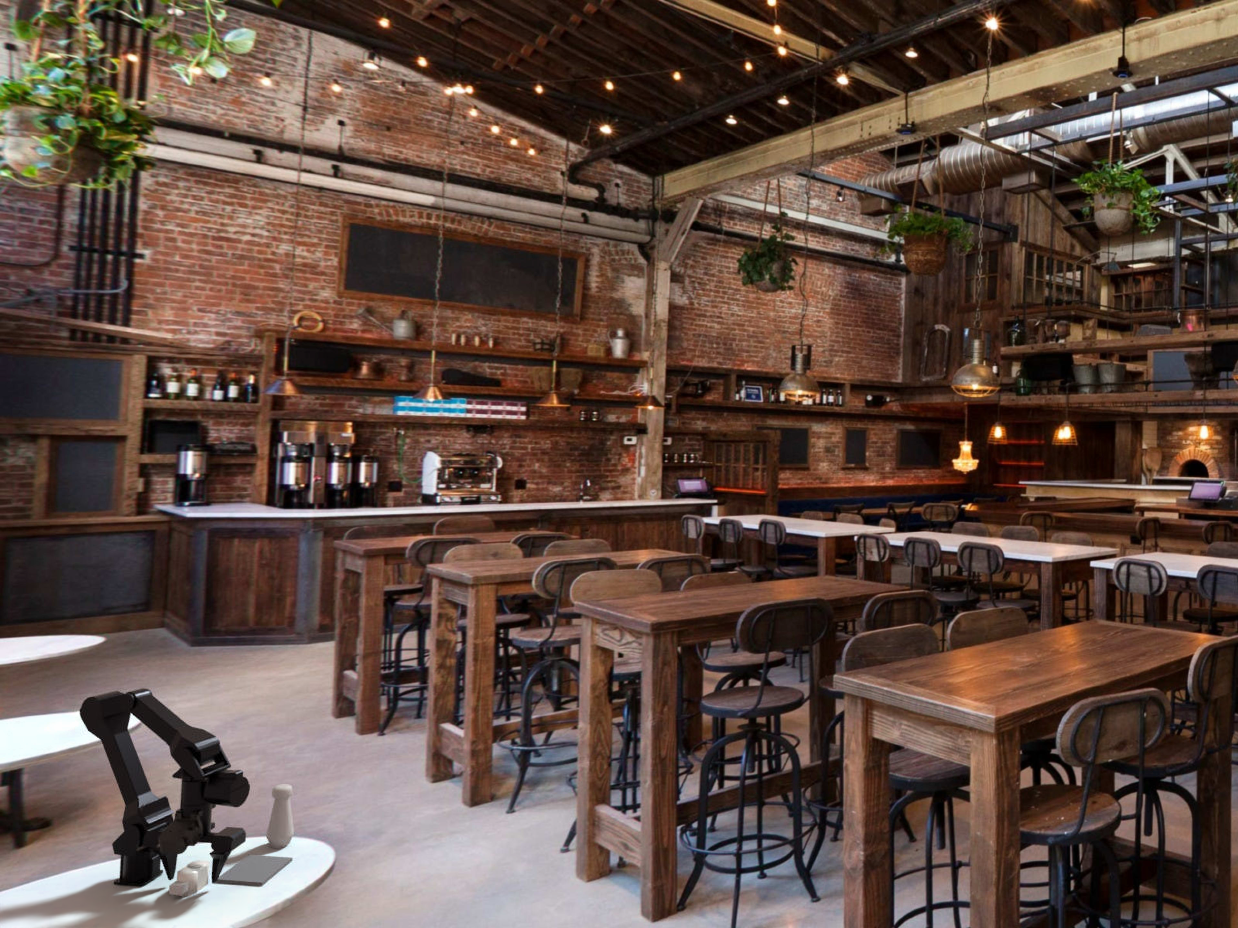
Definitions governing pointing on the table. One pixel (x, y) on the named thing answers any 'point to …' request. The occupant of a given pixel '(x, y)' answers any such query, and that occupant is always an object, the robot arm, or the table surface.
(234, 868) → the coaster
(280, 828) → the salt shaker
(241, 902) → the table surface
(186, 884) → the plug
